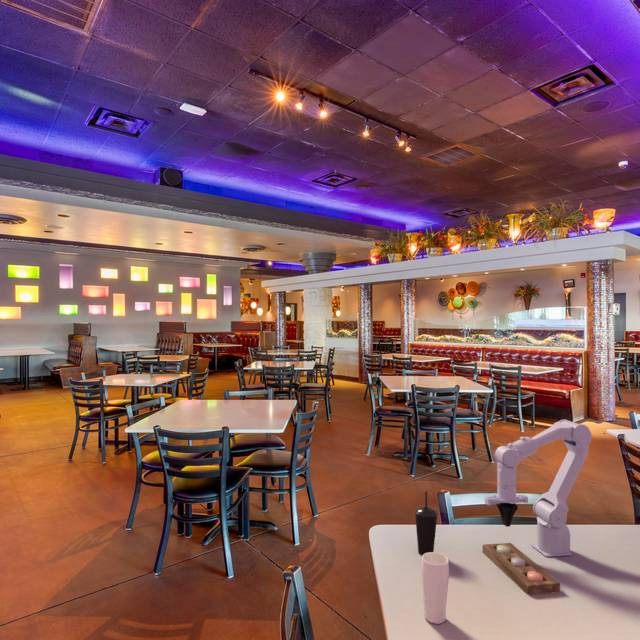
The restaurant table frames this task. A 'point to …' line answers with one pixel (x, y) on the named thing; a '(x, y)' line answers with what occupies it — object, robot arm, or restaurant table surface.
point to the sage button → (503, 549)
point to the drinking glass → (435, 586)
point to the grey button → (517, 562)
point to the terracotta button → (534, 576)
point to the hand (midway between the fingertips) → (506, 525)
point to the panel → (521, 570)
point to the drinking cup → (425, 527)
